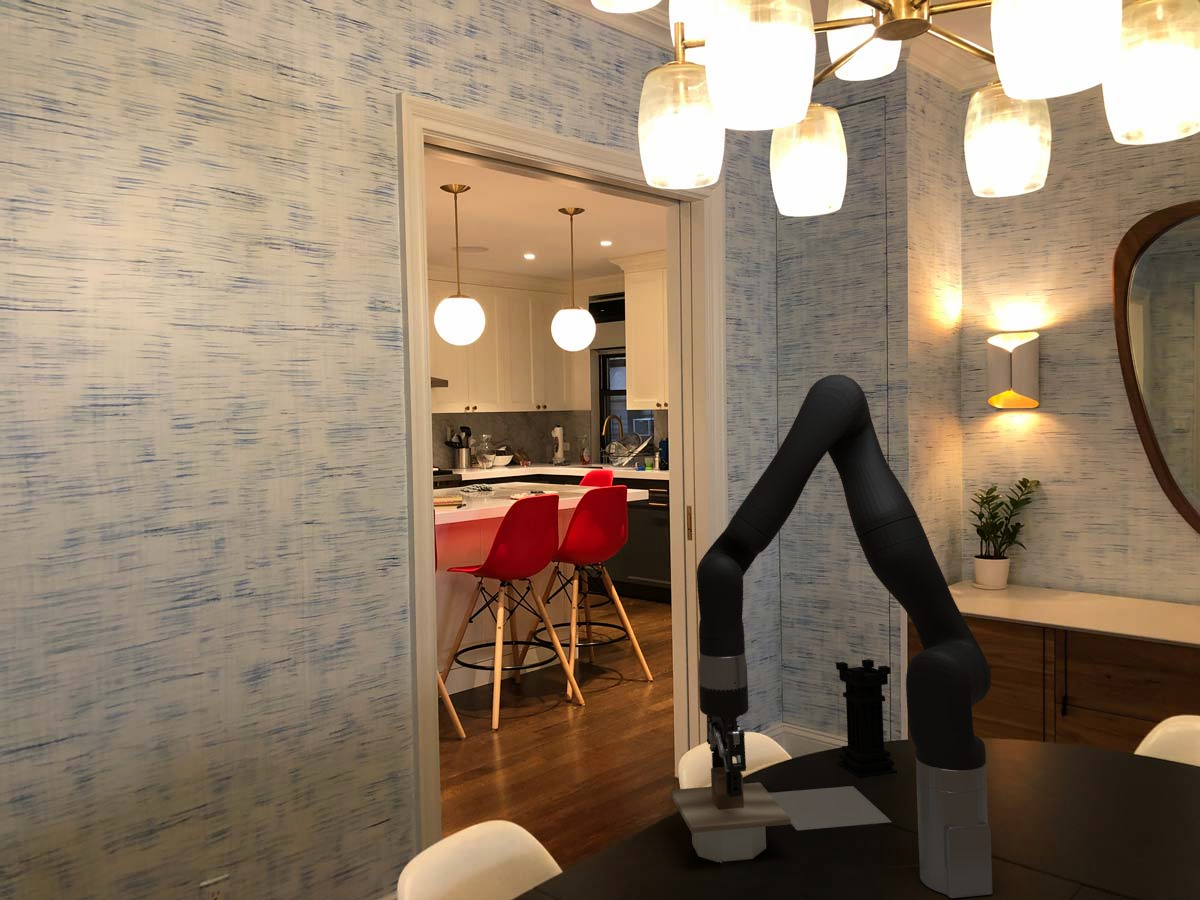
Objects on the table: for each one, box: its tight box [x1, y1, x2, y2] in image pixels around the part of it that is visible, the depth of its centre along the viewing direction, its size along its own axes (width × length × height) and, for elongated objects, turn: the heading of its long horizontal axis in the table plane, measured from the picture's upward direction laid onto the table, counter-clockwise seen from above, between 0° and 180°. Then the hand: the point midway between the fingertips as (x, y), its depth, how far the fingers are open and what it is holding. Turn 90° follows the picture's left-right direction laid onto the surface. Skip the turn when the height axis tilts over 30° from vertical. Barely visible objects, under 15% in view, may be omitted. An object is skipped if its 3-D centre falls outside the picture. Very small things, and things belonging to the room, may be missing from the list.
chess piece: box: [835, 658, 898, 779], centre depth 172 cm, size 8×8×20 cm
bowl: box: [691, 826, 767, 864], centre depth 141 cm, size 11×11×6 cm
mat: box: [768, 785, 892, 831], centre depth 155 cm, size 16×16×1 cm
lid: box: [670, 767, 792, 834], centre depth 141 cm, size 15×15×6 cm
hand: (726, 785), depth 141 cm, fingers open, 8 cm apart
